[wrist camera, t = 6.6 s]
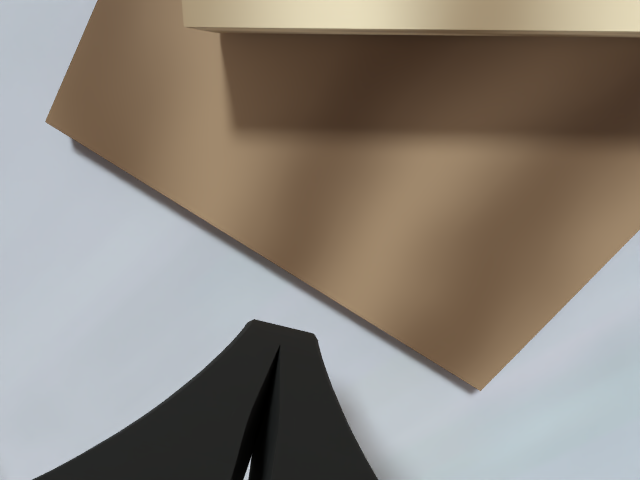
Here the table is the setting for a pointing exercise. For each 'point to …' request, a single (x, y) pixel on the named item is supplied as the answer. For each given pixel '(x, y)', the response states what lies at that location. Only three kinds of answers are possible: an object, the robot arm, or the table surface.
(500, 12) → the leg
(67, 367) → the table surface
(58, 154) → the table surface
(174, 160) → the stool board
